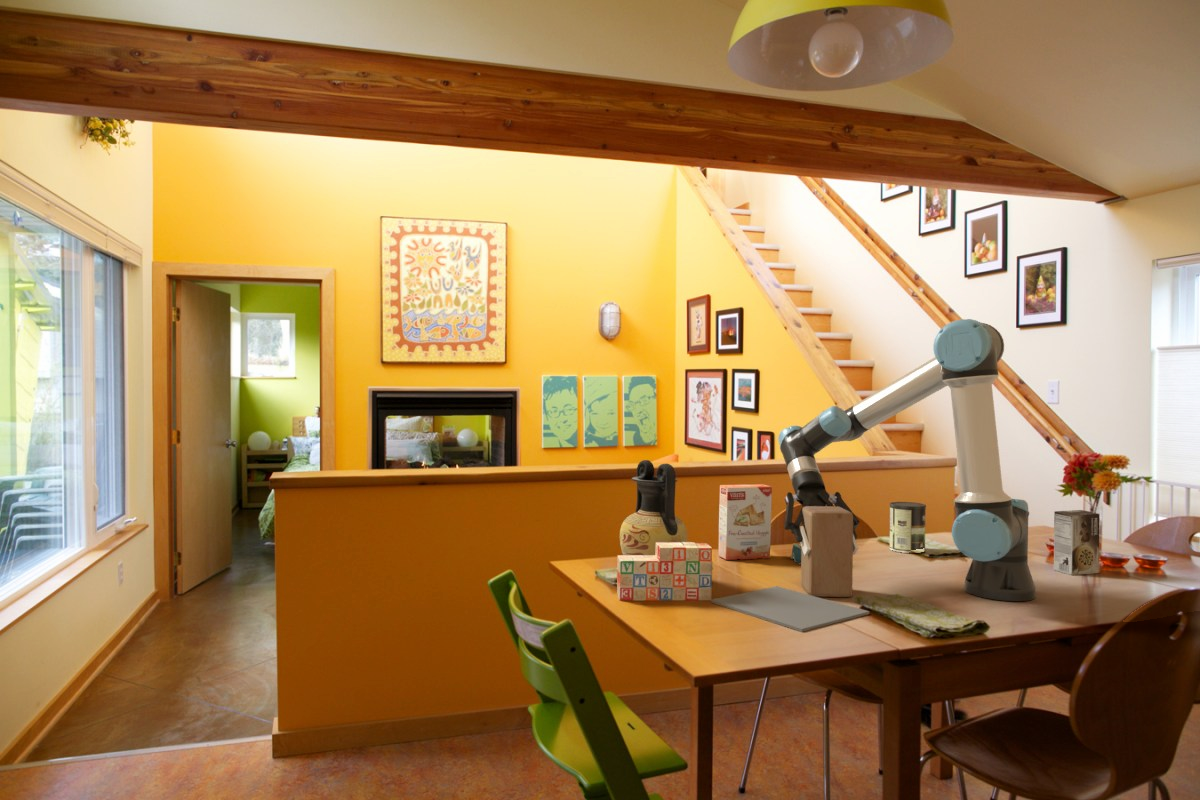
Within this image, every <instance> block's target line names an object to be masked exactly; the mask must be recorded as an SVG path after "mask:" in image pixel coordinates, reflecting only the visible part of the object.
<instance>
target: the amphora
mask: <svg viewBox="0 0 1200 800" xmlns="http://www.w3.org/2000/svg"><path fill="white" fill-rule="evenodd" d="M656 469H657V470H656V475H655V466H654V464H653V462H652V461H651V460H648V459H644V460H640V462H639V463H638V464H637V466H636V476H633V477H631V481H632V482H636V507H635V512H634V513H632V514H630V515H628V516H627V517H625V519H624V520H623V522H622V523H621V526H620V530H619V544H620V549H621V553H622V555H643V556H644V555H655V548H656V543H677V542H680V543H681V542H688V531H687V527H686V526H685V525H686V524H685V523H684V522H683V520H682V519H681V518H680V517H678V516H677V515H675V509H676V508H675V505H676V503H675V502H676V501H675V500H676V484H677V482H678V479H677V477H676V471H675V468H674V467H673V465H671V464H670V463H661V464H660V465H658V467H657V468H656Z"/></svg>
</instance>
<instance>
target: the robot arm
mask: <svg viewBox="0 0 1200 800" xmlns="http://www.w3.org/2000/svg"><path fill="white" fill-rule="evenodd" d="M1004 351H1005V342H1004V338H1003V336H1002V334H1001V332H1000V331H998V329H997V328H995V327H993V326H992V325H991V324H988V323H984V322H981V321H978V320H976V319H971V318H970V319H969V318H967V319H966V318H965V319H964V318H963V319H957V320H953V321H951V322H949V323H947V324H945V325H944V326H943V327H942V328H941V329H940V330H939V331H938V332H937V334H936V335H935V338H934V341H933V354H934V357H932V358H931V359H930V360H928V361H926V362H925V363H923V364H921V365H920V366H919V365H918V367H916V368H914V369H913V370H911V371H909V372H908V373H905V374H904V375H903V376H901V377H899V378H897V379H896V380H895V381H892V382H891V383H889V384H888V385H886V386H884V387H882V388H880V389H879V390H877V391H875V392H874V393H872V394H871V395H869V396H867V397H865V398H864V399H862V400H860V401H858V402H856V403H855V404H853V405H852V406H851V407H849V408H848V407H847V408H846V409H845V410H843V408H842V407H839V406H838V405H832V406H830V407H828V408H826V409H825V410H822V412H821V413H819V414H818V415H817V416H815V417H814V418H813V419H811V420H810V421H809V422H807V423H806V424H805V425H804V426H800V425H790V426H789V427H785V428H783V429H782V430H781V431H780V433H779V434H778V443H779V449H780V452H781V454H782V457H783V459H784V462H785V465H786V468H787V472H788V475H789V479H790V481H791V485H792V488H793V490H794V494H793V493H792V492H790V491H789V492H787V494H786V496H785V498H784V501H785V505H786V508H785V514H784V515H785V518H784V525H783V528H784V530H785V531H788V530H790V532H791V534H793V535H794V537H795V541H796V542H797V543H800V546H801V547H802V550H803V553H804V556H808V554H809V552H810V550H811V548H810V545H809V542H808V539H807V536H806V533H805V530H804V527H803V526H802V525H801V524H802V519H803V517H804V516H803V511H802V509H803V507H805V506H835V507H841V508H843V509H845V510H847V511H849V512H851V513H852V514H853V556H855V555H856V554H857V552H858V550H859V548H860V547H859V546H858V544H857V538H858V534H857V532H856V530H855V529H857V528H858V526H859V524H860V519H859V518H858V517H857V516H856V514H854V512H853V511H852V509H851V508H850V507H849V506H848V505H847V503H846V502H845V501H844V500H843V498H842V495H841V493H840V492H839V491H835V493H829V492H828V491H827V490H826V485H825V483H824V480H823V476H822V475H821V472H820V468H819V466H818V463H817V460H816V458H815V455H816V454H817V453H819V452H821V451H822V450H823V449H825V448H826V447H828V446H829V445H831V444H832V443H837V442H852V441H854V440H857V439H859V438H861V437H862V436H863V434H864V433H867V431H869V430H871V429H872V428H874V427H876V426H878V425H879V424H881V423H883V422H884V421H887V420H888V419H890V418H892V417H894V416H896V415H897V414H899V413H901V412H903V411H905V410H906V409H908V408H910V407H911V406H913V405H915V404H917V403H918V402H921V401H922V400H924V399H926V398H928V397H929V396H931V395H934V394H935V393H937V392H939V391H940V390H943V389H944V388H946V387H948V388H949V389H950V397H951V406H952V416H953V417H952V418H953V425H954V427H953V429H954V436H955V438H954V439H955V446H956V447H955V448H956V459H957V466H958V477H959V486H960V493H959V494H958V495H957V496H956V497H955V499H954V509H955V519H954V521H953V524H952V526H951V527H952V529H951V536H952V540H953V543H954V546H955V547H956V548H957V549H958V551H959V552H961V553H962V555H964V556H966V557H967V558H969V559H971V560H972V561H971V563H970V566H969V568H968V571H967V573H966V576H965V580H964V591H965V592H966V593H968V594H971V595H973V596H976V597H980V598H984V599H989V600H995V601H1004V602H1026V601H1027V602H1028V601H1033V600H1034V599H1036V593H1037V592H1036V590H1037V589H1036V585H1035V582H1034V580H1033V576H1032V573H1031V570H1030V567H1029V564H1028V562H1029V561H1028V556H1029V555H1028V554H1029V553H1028V552H1029V551H1028V550H1029V516H1030V510H1029V504H1028V502H1027V501H1026V500H1024V499H1019V498H1012V497H1011V496H1009V495H1008V494H1007V493H1006V492H1005V491H1004V490H1003V481H1002V471H1001V462H1000V461H1001V460H1000V452H999V451H1000V450H999V442H998V441H999V440H998V432H997V423H996V414H995V412H996V411H995V405H994V404H995V402H994V395H993V394H994V393H993V383H995V381H996V380H997V379H998V378H999V368H998V367H999V366H998V363H999V362H1000V360H1001V359H1002V357H1003V354H1004ZM796 502H798V503H799V504H800V505H801V506H802V507H801V508H800V511H799V512H798V514H797V516H796V519H795V522H793V513H794V508H795V507H794V506H795V503H796ZM800 525H801V526H800Z"/></svg>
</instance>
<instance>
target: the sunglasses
mask: <svg viewBox="0 0 1200 800" xmlns="http://www.w3.org/2000/svg"><path fill="white" fill-rule="evenodd" d="M793 557H794V558H793ZM791 559H794V560H793V561H794V562H795V563H796V562H797V563H796V564H799V563H801V545H799V544H798V543H794V542H793V543H792V550H791V557H790V560H791Z"/></svg>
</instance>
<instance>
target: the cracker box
mask: <svg viewBox="0 0 1200 800" xmlns="http://www.w3.org/2000/svg"><path fill="white" fill-rule="evenodd" d="M772 491H773V486H771V485H766V484H763V483H762V484H761V483H759V484H720V485H719V502H718V503H719V505H718V507H719V509H718V554H717V555H718V557H719V558H721V559H724V560H725V561H736V560H737V559H740V560H758V559H757V558H763V559H770V558H771V535H772V534H771V533H772V530H771V528H772V500H773V499H772V494H773V493H772Z"/></svg>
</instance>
